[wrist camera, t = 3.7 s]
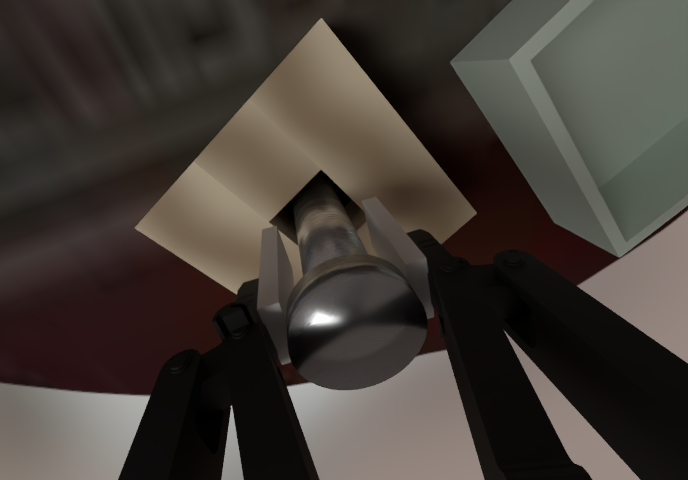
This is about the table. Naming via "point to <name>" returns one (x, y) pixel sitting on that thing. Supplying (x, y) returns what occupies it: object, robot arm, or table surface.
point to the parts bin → (590, 109)
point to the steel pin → (347, 301)
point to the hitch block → (301, 167)
